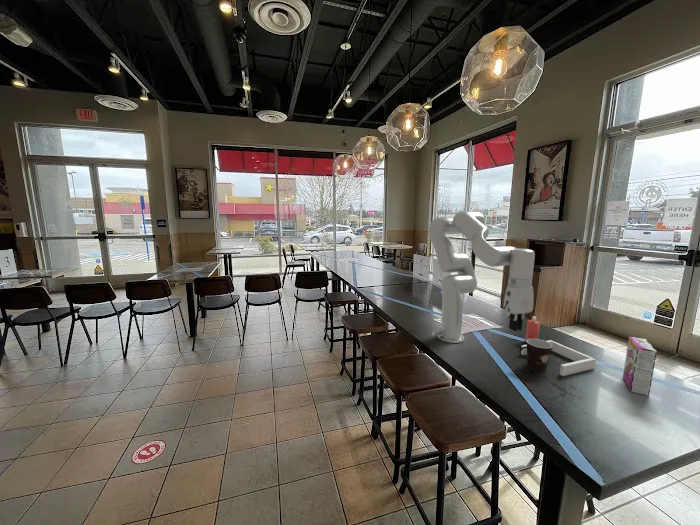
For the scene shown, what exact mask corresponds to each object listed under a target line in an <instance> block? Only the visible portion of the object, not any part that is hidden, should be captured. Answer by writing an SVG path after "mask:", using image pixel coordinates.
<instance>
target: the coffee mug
mask: <svg viewBox="0 0 700 525" xmlns="http://www.w3.org/2000/svg"><path fill="white" fill-rule="evenodd" d="M546 341H547V340H543V339H539V338H538V339H528V340H527V342H526V345H527V347H522V348H520V349H519V351H518V352H519V355H520V356H521V357H522V358H523V359H524V360H526V365H527V366H528V368H530V369H532V370H534V371H539V372H545V371H546V370H547V367H548V364H549V360H550V356H551V354H552V353H551V352H552V344H550V343H549V342H546ZM524 348H526V349H527V355H526V357H525V355H522V354H521V351H522V349H524Z"/></svg>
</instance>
